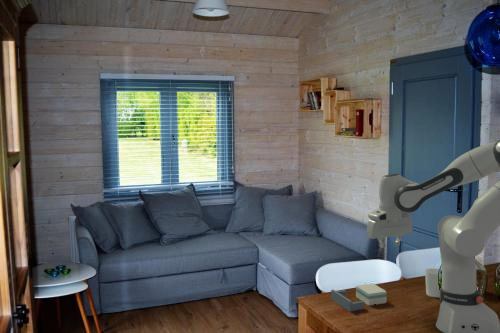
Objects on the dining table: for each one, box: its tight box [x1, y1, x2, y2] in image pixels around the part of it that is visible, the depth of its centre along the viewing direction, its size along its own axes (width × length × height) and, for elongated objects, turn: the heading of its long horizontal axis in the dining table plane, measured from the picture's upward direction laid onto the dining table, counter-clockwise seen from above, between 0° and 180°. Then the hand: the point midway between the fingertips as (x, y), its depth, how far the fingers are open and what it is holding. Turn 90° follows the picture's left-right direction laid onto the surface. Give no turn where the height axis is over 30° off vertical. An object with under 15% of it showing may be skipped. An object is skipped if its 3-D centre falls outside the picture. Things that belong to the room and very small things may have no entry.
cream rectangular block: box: [355, 282, 388, 306], centre depth 201 cm, size 8×10×5 cm
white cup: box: [424, 268, 440, 299], centre depth 205 cm, size 8×8×10 cm
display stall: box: [330, 289, 365, 313], centre depth 197 cm, size 6×14×4 cm, turn 21°
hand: (389, 246), depth 202 cm, fingers open, 5 cm apart
